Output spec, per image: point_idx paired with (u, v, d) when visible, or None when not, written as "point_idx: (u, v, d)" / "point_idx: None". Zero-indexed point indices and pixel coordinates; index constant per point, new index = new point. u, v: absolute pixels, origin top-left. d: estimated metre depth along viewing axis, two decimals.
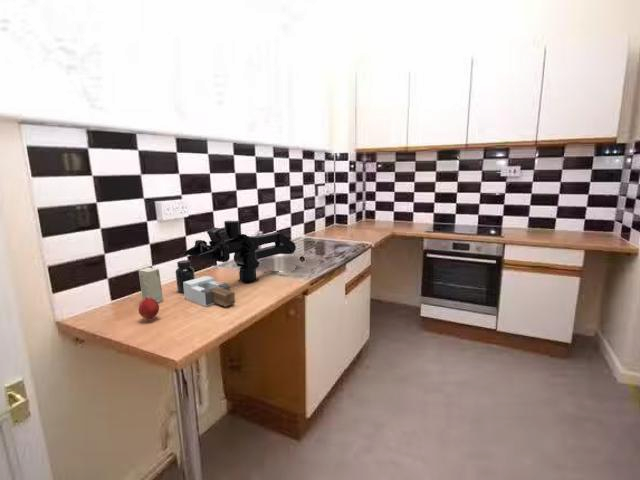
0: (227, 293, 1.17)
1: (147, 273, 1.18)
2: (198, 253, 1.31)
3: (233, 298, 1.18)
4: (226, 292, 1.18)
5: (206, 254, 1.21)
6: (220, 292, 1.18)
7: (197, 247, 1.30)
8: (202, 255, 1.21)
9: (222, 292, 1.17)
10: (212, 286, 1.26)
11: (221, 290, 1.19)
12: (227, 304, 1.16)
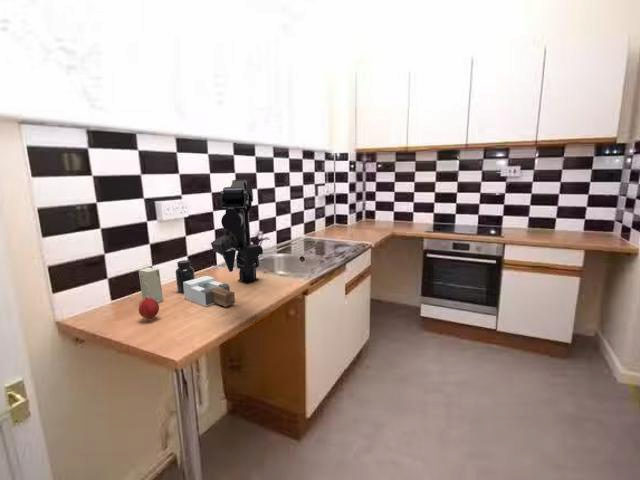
0: (227, 293, 1.17)
1: (147, 273, 1.18)
2: (232, 253, 1.14)
3: (233, 298, 1.18)
4: (226, 292, 1.18)
5: (247, 268, 1.07)
6: (220, 292, 1.18)
7: (226, 255, 1.12)
8: (247, 272, 1.08)
9: (222, 292, 1.17)
10: (212, 286, 1.26)
11: (221, 290, 1.19)
12: (227, 304, 1.16)
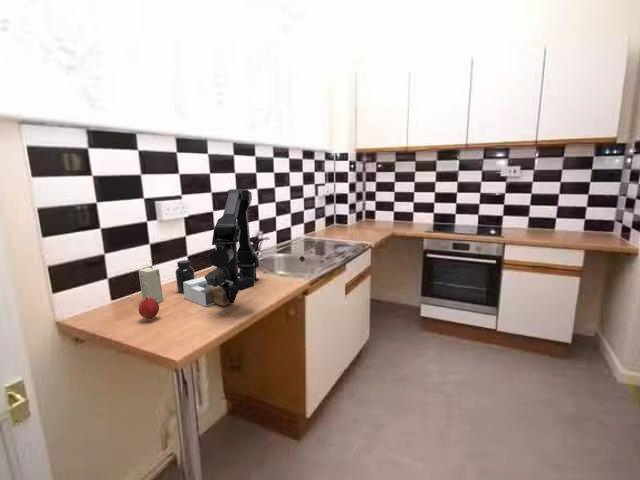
0: None
1: (147, 273, 1.18)
2: None
3: None
4: (224, 291, 1.18)
5: (232, 297, 1.15)
6: (218, 291, 1.19)
7: None
8: (232, 300, 1.16)
9: (220, 291, 1.18)
10: (212, 286, 1.26)
11: (219, 290, 1.20)
12: (225, 303, 1.17)
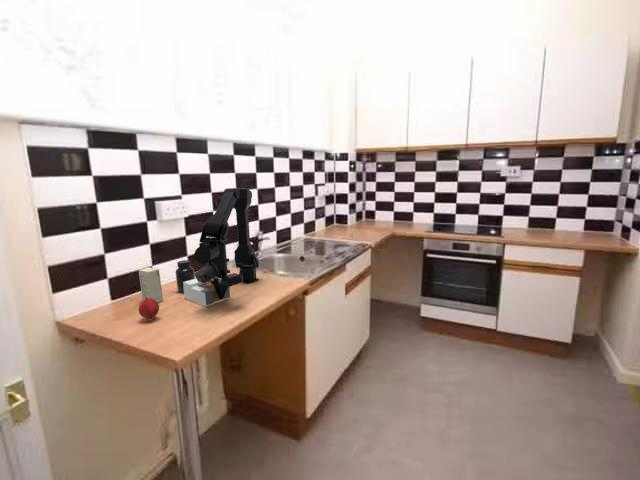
0: None
1: (147, 273, 1.18)
2: None
3: None
4: (214, 288, 1.22)
5: (221, 293, 1.19)
6: (209, 288, 1.22)
7: (216, 284, 1.18)
8: (221, 296, 1.19)
9: (211, 288, 1.22)
10: None
11: (210, 286, 1.24)
12: (215, 299, 1.20)
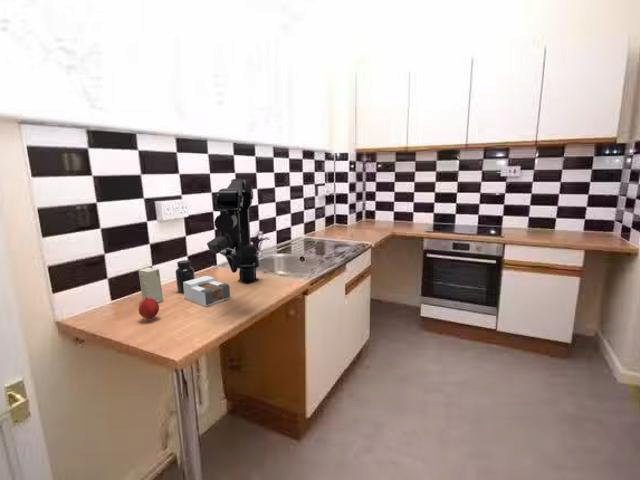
0: (215, 289, 1.21)
1: (147, 273, 1.18)
2: None
3: (221, 294, 1.22)
4: (214, 288, 1.22)
5: (234, 265, 1.14)
6: (209, 288, 1.22)
7: (229, 256, 1.14)
8: (234, 269, 1.15)
9: (211, 288, 1.22)
10: None
11: (210, 287, 1.24)
12: (215, 299, 1.20)
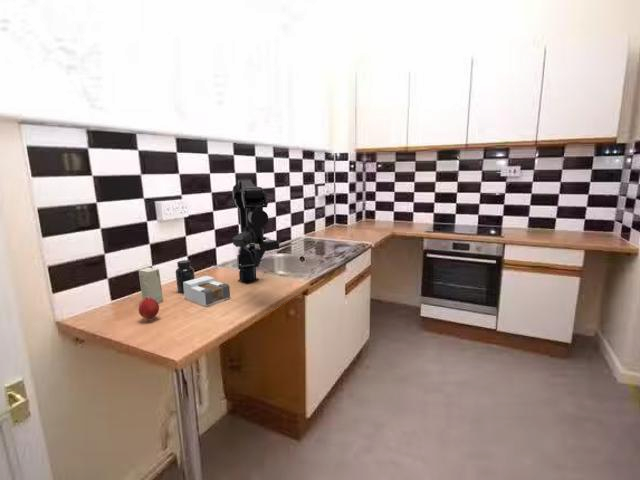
0: (215, 289, 1.21)
1: (147, 273, 1.18)
2: None
3: (221, 294, 1.22)
4: (214, 288, 1.22)
5: (257, 259, 1.20)
6: (209, 288, 1.22)
7: (252, 251, 1.20)
8: (257, 263, 1.21)
9: (211, 288, 1.22)
10: None
11: (210, 287, 1.24)
12: (215, 299, 1.20)
